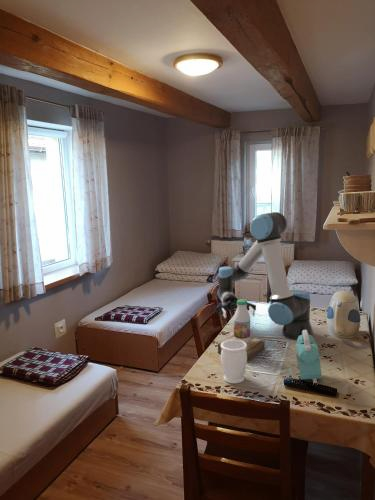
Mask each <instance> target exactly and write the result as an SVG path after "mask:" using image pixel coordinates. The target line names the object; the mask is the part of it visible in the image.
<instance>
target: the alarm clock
mask: <svg viewBox="0 0 375 500" xmlns="http://www.w3.org/2000/svg"><path fill="white" fill-rule="evenodd" d="M296 362H297V366H298V367H297V368H298V371H299V376H300V377H299V378H300V380H312V383H313V384H314V383H317V384H318V380H321V379H322V377H323V375H322V367H321V359H320V353H319V347H318V344H317V342H316V340H315V338H314V336H311V335H309V334H308V331H307V330H303V331H302V335H300V336H299V337H298V339H297V340H296Z"/></svg>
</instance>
